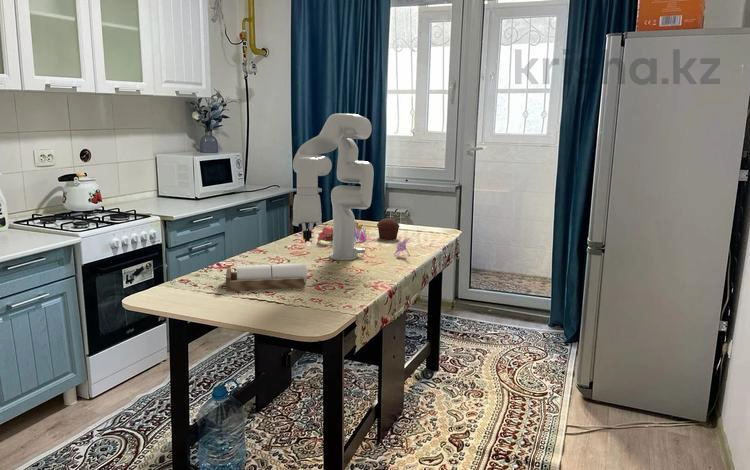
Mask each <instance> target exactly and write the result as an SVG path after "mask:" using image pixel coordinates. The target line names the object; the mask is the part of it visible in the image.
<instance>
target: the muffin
mask: <svg viewBox="0 0 750 470" xmlns="http://www.w3.org/2000/svg"><path fill="white" fill-rule="evenodd" d="M376 227H377V230H378V231H377V232H378V236H379V237H378V238H379V240H381V241H382V240H383V241H395V240H397V239H398V233H399V228H400V224H399V223H398V222H397V220H395V219H393V218H387V217H386V218H383V219H381V220H379V221H378V222H377V224H376Z"/></svg>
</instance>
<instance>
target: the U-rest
mask: <svg viewBox="0 0 750 470" xmlns="http://www.w3.org/2000/svg"><path fill="white" fill-rule="evenodd" d="M225 288H226V289H225V291H226V292H235V291H236V292H238V291H239V292H240V291H261V290H263V291H264V290H285V289H304V288H305V282H304V277H301V278H276V279H251V280H237V271H232V267H227V268H226V275H225Z"/></svg>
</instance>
